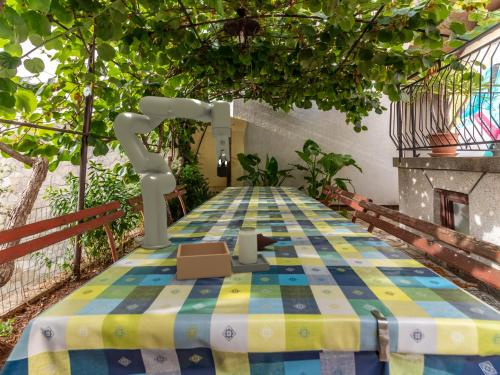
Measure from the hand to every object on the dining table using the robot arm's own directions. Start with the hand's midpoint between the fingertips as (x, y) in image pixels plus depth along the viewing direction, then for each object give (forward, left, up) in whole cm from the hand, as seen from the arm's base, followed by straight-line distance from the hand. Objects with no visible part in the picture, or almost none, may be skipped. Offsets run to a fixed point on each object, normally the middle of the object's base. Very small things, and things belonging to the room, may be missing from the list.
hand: (221, 176), depth 126 cm
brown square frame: (-8, -20, -30) cm, 37 cm away
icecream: (+15, 0, -31) cm, 34 cm away
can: (+7, -18, -30) cm, 36 cm away
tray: (+7, -20, -30) cm, 37 cm away
